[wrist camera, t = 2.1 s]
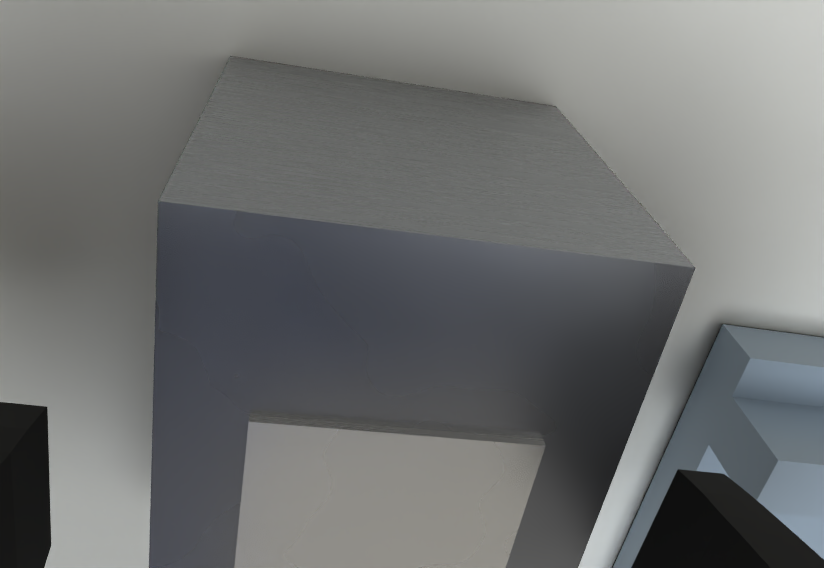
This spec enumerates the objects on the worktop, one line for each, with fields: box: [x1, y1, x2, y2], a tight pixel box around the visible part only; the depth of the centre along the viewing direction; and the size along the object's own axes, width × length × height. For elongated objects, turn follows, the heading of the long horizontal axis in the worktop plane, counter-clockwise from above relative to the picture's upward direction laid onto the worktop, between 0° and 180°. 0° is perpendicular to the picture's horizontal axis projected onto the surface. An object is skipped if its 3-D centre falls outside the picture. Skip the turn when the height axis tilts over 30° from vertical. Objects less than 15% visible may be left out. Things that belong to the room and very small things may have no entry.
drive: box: [149, 56, 695, 568], centre depth 10 cm, size 8×4×5 cm, turn 170°
